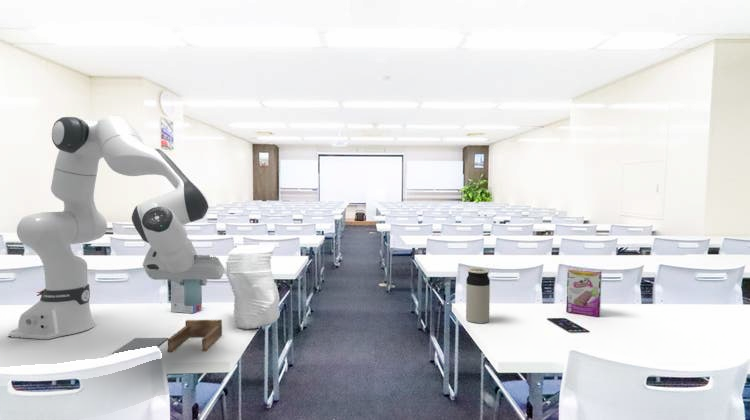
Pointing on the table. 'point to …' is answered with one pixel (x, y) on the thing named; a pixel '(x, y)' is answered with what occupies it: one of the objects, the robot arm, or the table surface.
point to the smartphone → (568, 325)
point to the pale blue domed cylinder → (192, 292)
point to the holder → (197, 333)
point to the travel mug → (477, 295)
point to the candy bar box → (584, 292)
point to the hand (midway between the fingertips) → (193, 283)
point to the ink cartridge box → (180, 300)
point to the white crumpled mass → (253, 286)
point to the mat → (141, 344)
